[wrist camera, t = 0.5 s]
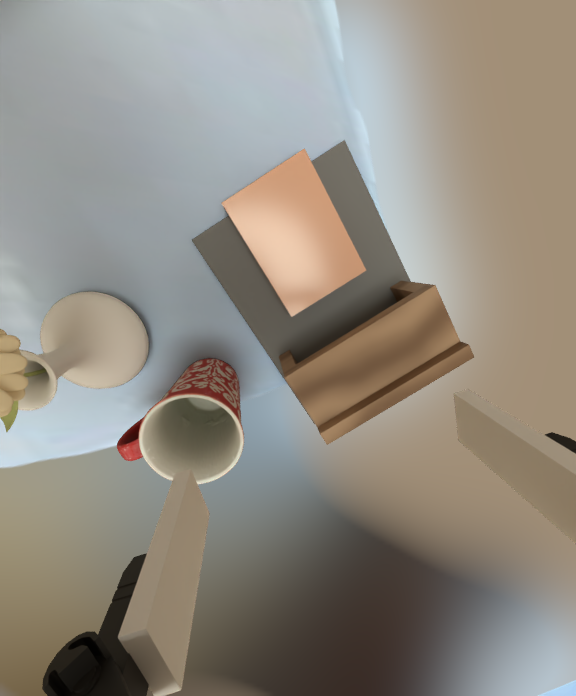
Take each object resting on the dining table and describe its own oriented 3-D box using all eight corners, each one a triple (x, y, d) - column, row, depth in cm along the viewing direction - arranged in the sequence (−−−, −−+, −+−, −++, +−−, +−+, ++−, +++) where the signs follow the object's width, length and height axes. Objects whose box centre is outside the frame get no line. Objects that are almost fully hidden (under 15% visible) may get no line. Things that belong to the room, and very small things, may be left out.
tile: (223, 207, 34) (221, 202, 32) (300, 156, 34) (304, 148, 31) (289, 313, 38) (291, 317, 36) (358, 269, 38) (366, 270, 35)
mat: (192, 240, 35) (191, 240, 35) (343, 141, 34) (344, 140, 34) (314, 422, 43) (314, 424, 43) (439, 346, 42) (441, 347, 42)
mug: (234, 341, 39) (224, 381, 26) (255, 404, 42) (256, 468, 29) (136, 370, 39) (77, 424, 26) (163, 431, 41) (123, 509, 28)
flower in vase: (157, 381, 39) (9, 568, 15) (60, 384, 38) (-263, 591, 14) (146, 275, 36) (-67, 305, 12) (39, 274, 35) (-436, 305, 11)
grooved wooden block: (278, 356, 40) (285, 382, 31) (401, 280, 39) (443, 286, 30) (312, 407, 42) (327, 444, 34) (428, 337, 41) (474, 357, 33)
